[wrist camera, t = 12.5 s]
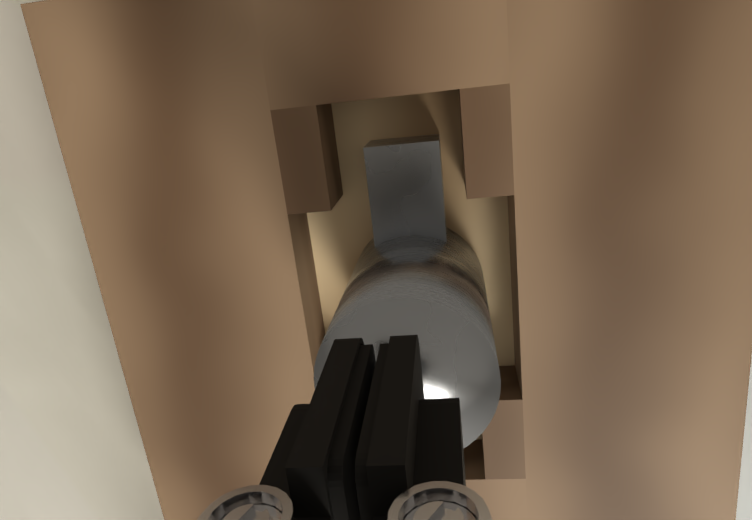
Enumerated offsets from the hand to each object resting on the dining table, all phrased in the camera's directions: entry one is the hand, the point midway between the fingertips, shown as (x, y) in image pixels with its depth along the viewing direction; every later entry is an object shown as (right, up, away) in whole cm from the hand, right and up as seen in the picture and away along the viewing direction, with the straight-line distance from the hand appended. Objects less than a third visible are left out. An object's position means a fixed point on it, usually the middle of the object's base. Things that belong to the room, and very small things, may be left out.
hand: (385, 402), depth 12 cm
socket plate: (+1, +2, +7) cm, 7 cm away
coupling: (+1, +2, +6) cm, 7 cm away
